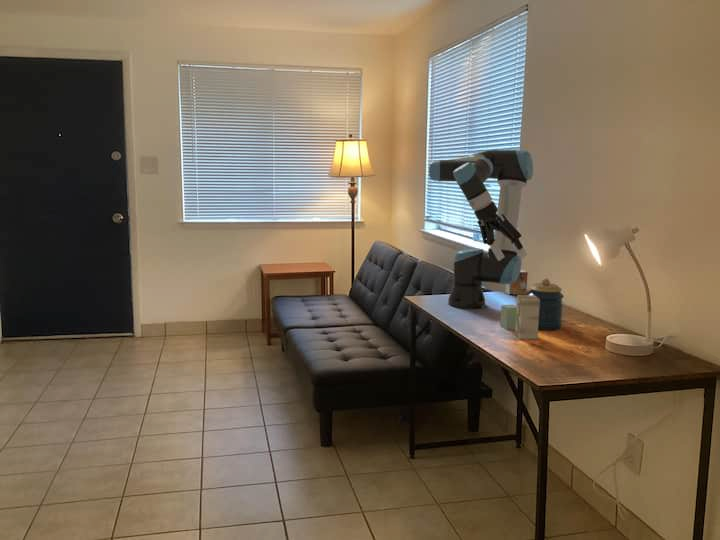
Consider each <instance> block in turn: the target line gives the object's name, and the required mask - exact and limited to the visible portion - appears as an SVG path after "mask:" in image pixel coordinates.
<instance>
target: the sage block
mask: <svg viewBox="0 0 720 540" xmlns="http://www.w3.org/2000/svg"><path fill="white" fill-rule="evenodd" d="M516 312H517V305H515V304H502V305H501V306H500V323H499V324H500V325H499V326H500V328H502V329H503V330H506V331H508V330H509V329H513V330H516ZM509 331H510V330H509Z"/></svg>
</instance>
